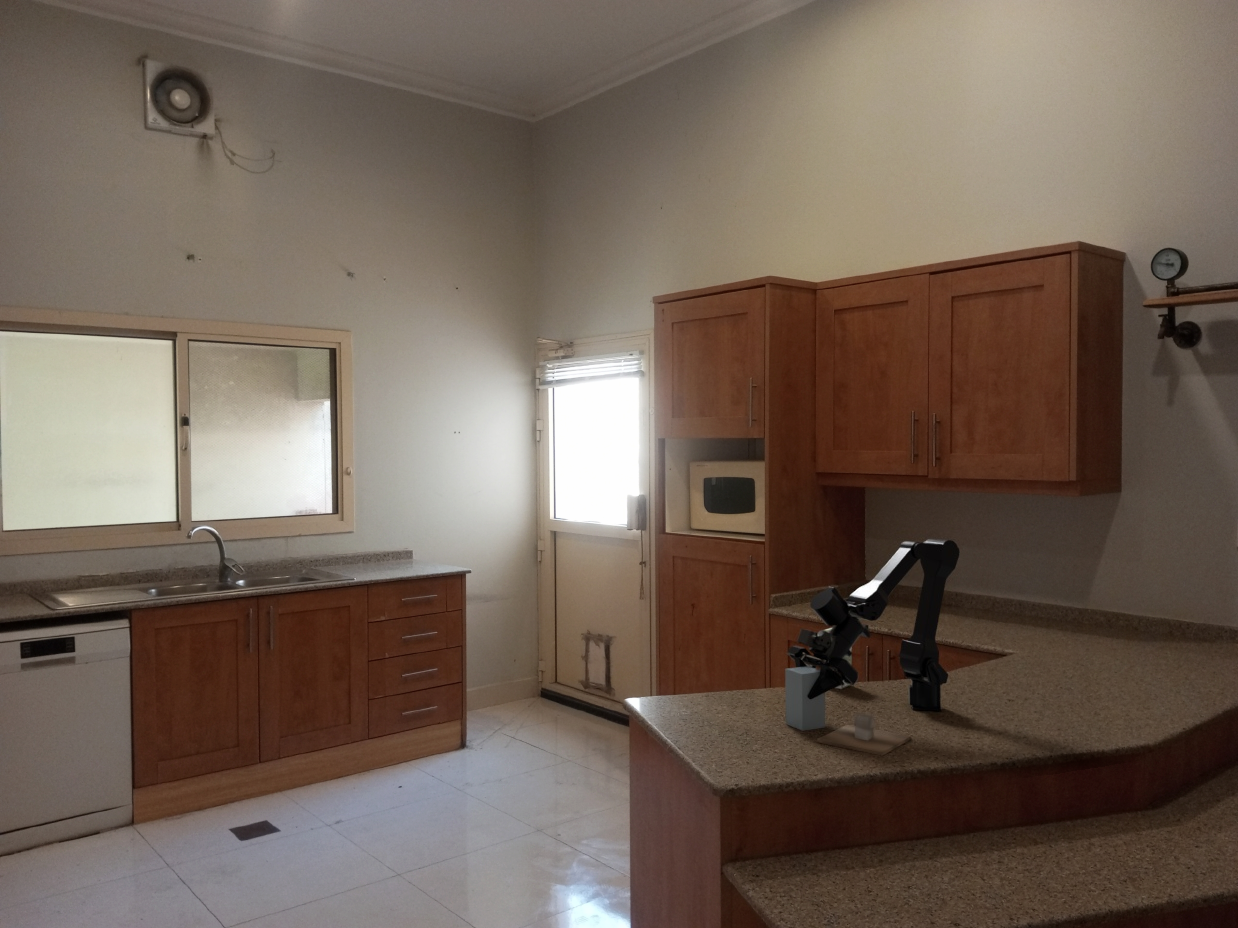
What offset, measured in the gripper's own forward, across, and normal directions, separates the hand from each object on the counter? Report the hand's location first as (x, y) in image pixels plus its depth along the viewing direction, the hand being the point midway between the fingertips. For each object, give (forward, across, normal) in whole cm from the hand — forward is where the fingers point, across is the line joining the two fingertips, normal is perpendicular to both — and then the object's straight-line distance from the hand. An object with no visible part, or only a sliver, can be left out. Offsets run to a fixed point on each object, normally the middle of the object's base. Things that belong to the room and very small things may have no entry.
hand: (799, 694), depth 199 cm
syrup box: (-17, -26, +27) cm, 41 cm away
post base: (+1, +14, +8) cm, 17 cm away
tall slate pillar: (+4, 0, +6) cm, 7 cm away
